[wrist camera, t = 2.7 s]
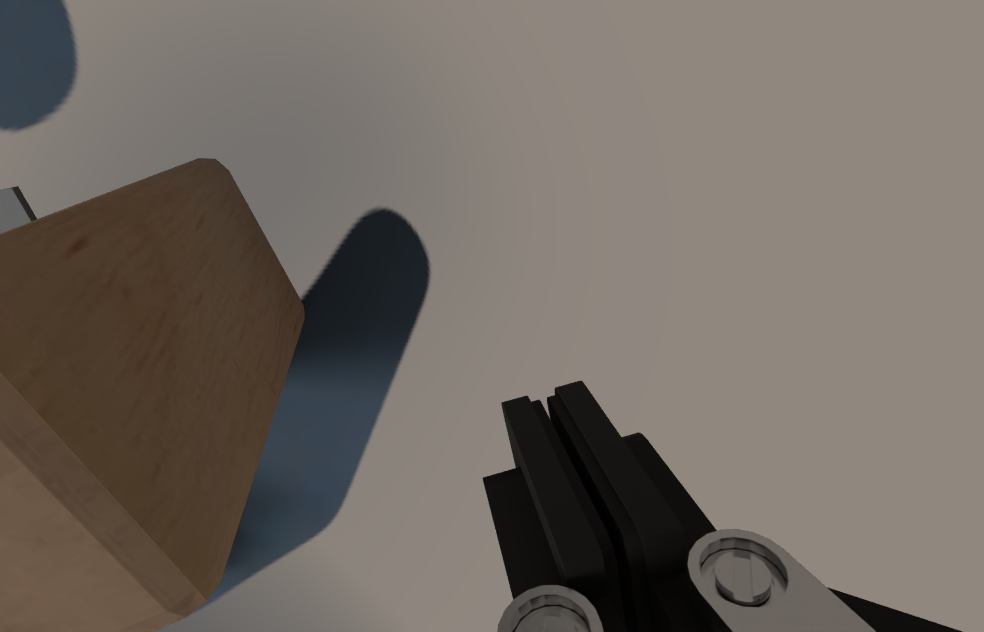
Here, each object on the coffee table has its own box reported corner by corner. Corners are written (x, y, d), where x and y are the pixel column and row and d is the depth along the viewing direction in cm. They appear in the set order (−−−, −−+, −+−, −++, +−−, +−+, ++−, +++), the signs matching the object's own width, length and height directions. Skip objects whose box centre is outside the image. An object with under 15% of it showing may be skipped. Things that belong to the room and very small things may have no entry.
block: (223, 148, 27) (-89, 270, 9) (313, 313, 31) (226, 619, 13) (35, 220, 27) (-688, 496, 9) (153, 377, 31) (-161, 780, 13)
